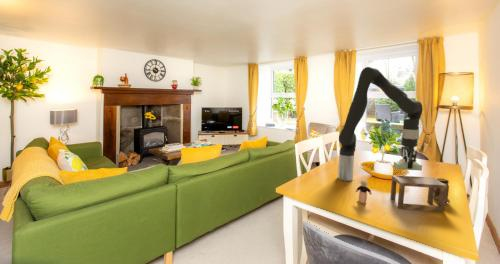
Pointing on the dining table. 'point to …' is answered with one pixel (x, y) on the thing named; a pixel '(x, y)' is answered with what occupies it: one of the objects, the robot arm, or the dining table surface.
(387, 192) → the dining table surface
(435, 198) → the condiment
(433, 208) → the brown wooden side table
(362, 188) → the grandmother figurine
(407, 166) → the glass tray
